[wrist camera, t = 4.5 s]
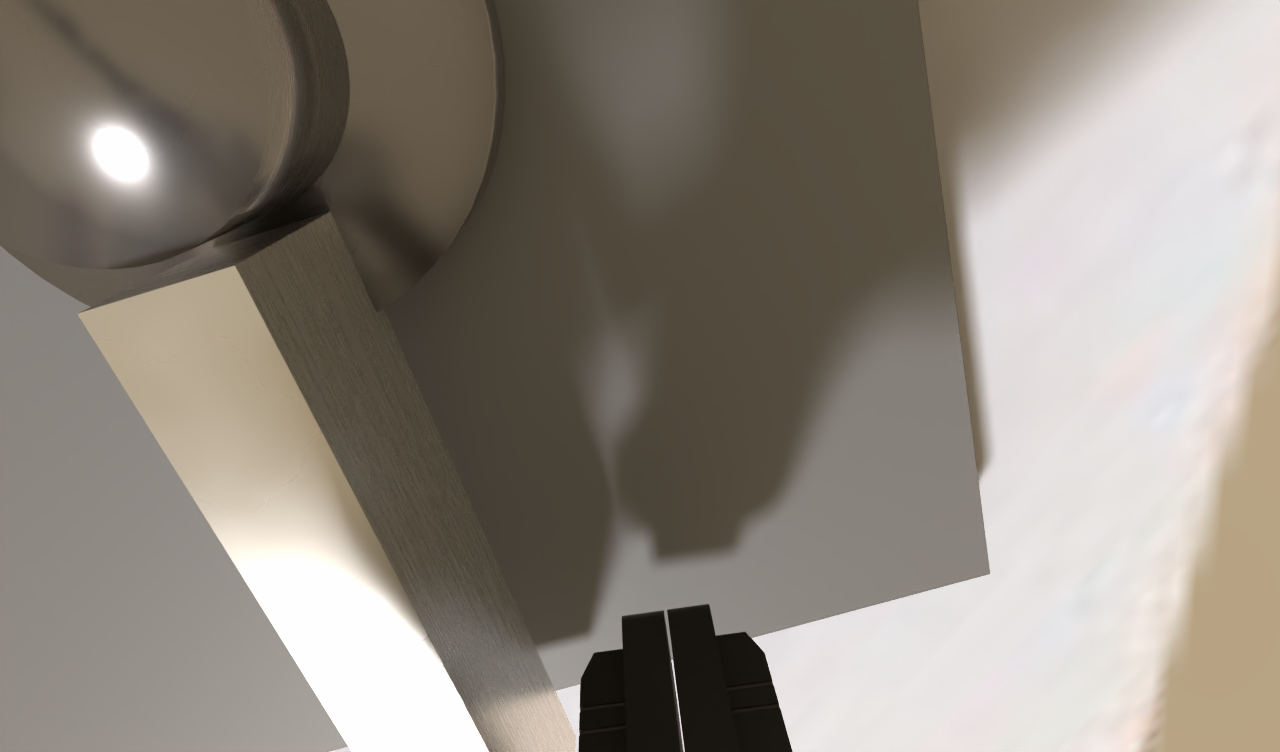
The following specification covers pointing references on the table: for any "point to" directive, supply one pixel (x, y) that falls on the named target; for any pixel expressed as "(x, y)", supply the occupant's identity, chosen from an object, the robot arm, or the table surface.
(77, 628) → the dial board
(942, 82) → the table surface
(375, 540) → the dial pointer
